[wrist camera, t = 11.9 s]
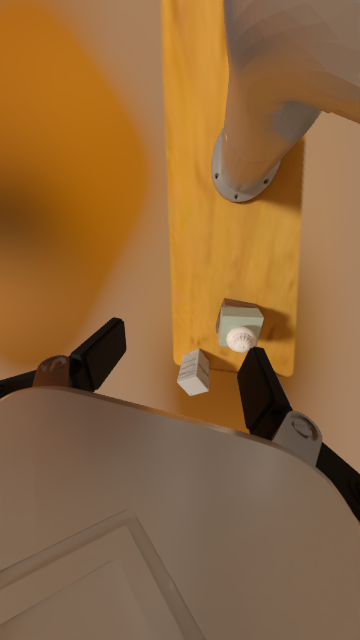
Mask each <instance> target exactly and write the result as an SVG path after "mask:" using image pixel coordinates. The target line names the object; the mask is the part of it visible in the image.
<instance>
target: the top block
mask: <svg viewBox="0 0 360 640" xmlns="http://www.w3.org/2000/svg"><path fill="white" fill-rule="evenodd" d="M263 320H264V317H263V315H262V314H261V312H260V311H259V309H258V308H237V307H221V315H220V325H219V334H218V336H219V346H228V344H227V341H226V338H227V334H228V333H229V331H230V330H232V329H233V328H235V327H237V326H238V327H239V326H243V327H247V328H249V329H251V330H252V331H253V332H254V334H255V335H256V344H255V347H256V346H257V342H258V338H259V334H260V331H261V327H262V323H263ZM228 347H229V346H228Z"/></svg>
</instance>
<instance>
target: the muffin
mask: <svg viewBox="0 0 360 640" xmlns="http://www.w3.org/2000/svg"><path fill="white" fill-rule="evenodd" d="M226 341H227V344H228V346H229V347H230V348H231V349H232V350H233V351H236V352H240V353H243V352H247V351H249V349H250V348H253V347H254V346H255V344H256V335H255V334H254V332H253V331H252V330H251V329H249V328H247V327H243V326H239V327H238V326H237V327H235V328H233V329H232V330H230V331H229V333H228V334H227V338H226Z"/></svg>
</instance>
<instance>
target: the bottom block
mask: <svg viewBox="0 0 360 640" xmlns="http://www.w3.org/2000/svg"><path fill="white" fill-rule="evenodd" d="M221 307H237V308H258V307H257V305H256V304H253V303H247V302H242V301H237V300H231V299H226V298H224V299H223V303H222V306H221ZM258 309H259V308H258ZM259 311H260V310H259ZM220 315H221V309H220V312H219V316H218V319H217V322H216V333H219V325H220Z"/></svg>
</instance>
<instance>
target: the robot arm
mask: <svg viewBox="0 0 360 640" xmlns="http://www.w3.org/2000/svg"><path fill="white" fill-rule="evenodd" d="M223 11H224V27H225V39H226V49H227V57H228V64H229V82H228V93H227V102H226V111H225V120H224V128H223V129H222V131H221V133H220V134H219V136H218V138H217V141H216V144H215V146H214V150H213V155H212V163H211V171H212V179H213V182H214V185H215V187H216V189H217V191H218V192H219V194H220V195H221V196H222V197H224V198H225V199H227V200H229V201H231V202H244V201H248V200H250V199H252V198H254V197H255V196H257V195H258V194H260V193H261V192H262V191H263V190H264V189H265V188H266V187H267V186H268V185H269V184H270V182H271V181H272V179H273V178H274V176H275V174H276V172H277V170H278V168H279V166H280V163H281V160H282V158H283V157H284V156H285V155H286V154H287V153H288V152H289V151H290V150H291V149H292V148H293V146H294V145H295V144H296V143H297V142H298V141H299V140H300V139H301V138H302V137H303V136H304V134H305V133H306V132H307V131H308V130H309V128H310V127H311V126H312V124H313V123H314V122H315V120H316V119H317V118H318V116H319V115H320V113H321V111H324V112H326V113H331V112H332V113H335V114H337V115H339V116H342V117H345V118H347V119H349V120H352V121H354V122H357V123H359V124H360V0H223ZM216 176H218V178H217V179H216V178H215V177H216ZM264 181H266V184H264ZM235 196H237V199H235ZM125 352H126V338H125V327H124V322H123V321H122V319H119V318H115V317H114V318H112V319H111V320H109V321H108V322H107V323H106V324H105V325H104V326H103V327H101V328H100V329H99V330H98V331H97V332H95V333H94V334H93V335H92V336H91V337H90V338H88V339H87V340H86V341H85V342H84V343H82V344H81V345H80V346H79V347H78V348H77V349H76V350H74V351H73V352H72V353H71V355H70V356H69V357H67V356H64V355H57V356H53V357H50V358H48V359H46V360H44V361H43V362H41V363H40V365H39V366H38V368H37V370H35V371H31V372H27V373H24V374H21V375H18V376H14V377H10V378H7V379H4V380H0V640H360V474H359V473H358V472H357V471H355V470H354V469H353V468H352V467H351V466H350V465H349V464H347V463H346V462H345V461H344V460H343V459H342V458H340V457H339V456H338V455H337V454H336V453H335V452H333V451H332V450H331V449H330V448H329V447H328V446H326V445H325V444H324V443H323V442H322V435H321V432H320V430H319V429H318V427H317V426H316V425H315V423H314V422H313V421H312V420H311V419H309V418H308V417H307V416H305V415H304V414H302V413H300V412H298V411H293V410H292V408H291V405H290V403H289V401H288V399H287V397H286V394H285V392H284V390H283V388H282V386H281V384H280V381H279V379H278V377H277V375H276V373H275V371H274V370H273V368H272V366H271V364H270V361H269V359H268V357H267V355H266V353H265V350H264V349H263V348H260V347H255V346H254V347H253V348H250V349H249V351H248V353H247V355H246V358H245V360H244V362H243V364H242V366H241V368H240V370H239V372H238V375H237V379H238V384H239V390H240V396H241V401H242V407H243V412H244V418H245V424H246V427H247V429H249V432H250V434H248V433H245V432H241V431H238V430H234V429H230V428H227V427H223V426H219V425H215V424H212V423H208V422H205V421H201V420H197V419H193V418H190V417H186V416H182V415H178V414H174V413H171V412H166V411H163V410H159V409H155V408H151V407H147V406H144V405H140V404H136V403H132V402H128V401H124V400H120V399H116V398H113V397H109V396H105V395H101V394H97V393H93V392H94V391H95V390H97V389H99V387H100V386H101V385H102V383H103V382H104V381H105V379H106V378H107V377H108V375H109V374H110V372H111V371H112V370H113V368H114V367H115V366H116V364H117V363H118V361H119V360H120V359H121V357H122V356H123V355H124V353H125Z"/></svg>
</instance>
